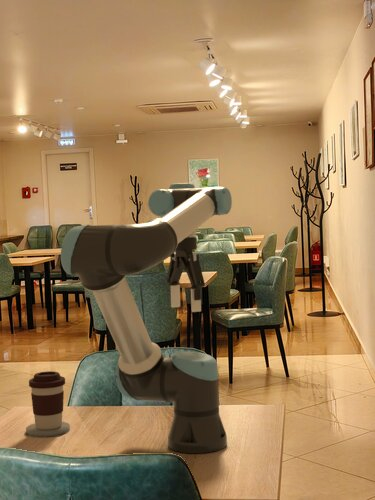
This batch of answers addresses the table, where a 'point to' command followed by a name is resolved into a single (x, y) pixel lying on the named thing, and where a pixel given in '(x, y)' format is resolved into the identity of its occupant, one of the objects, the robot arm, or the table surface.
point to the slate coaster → (47, 431)
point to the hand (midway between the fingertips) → (185, 309)
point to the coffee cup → (47, 399)
